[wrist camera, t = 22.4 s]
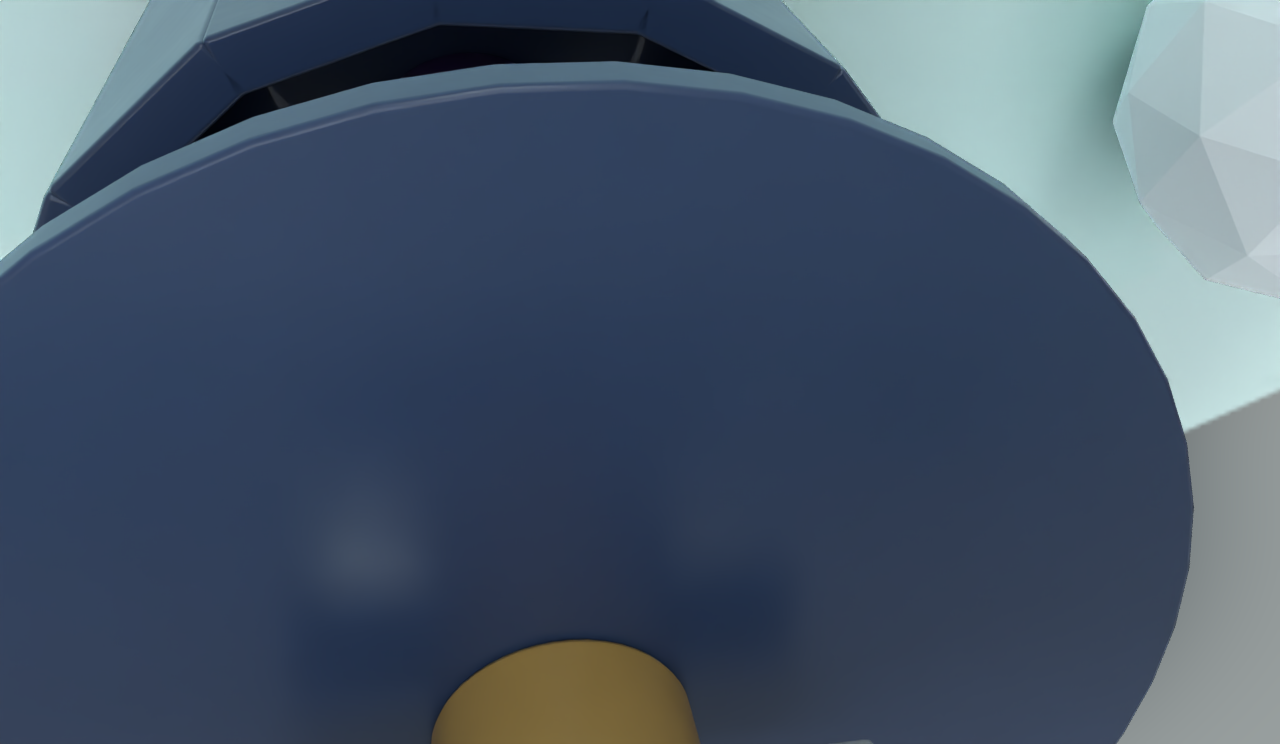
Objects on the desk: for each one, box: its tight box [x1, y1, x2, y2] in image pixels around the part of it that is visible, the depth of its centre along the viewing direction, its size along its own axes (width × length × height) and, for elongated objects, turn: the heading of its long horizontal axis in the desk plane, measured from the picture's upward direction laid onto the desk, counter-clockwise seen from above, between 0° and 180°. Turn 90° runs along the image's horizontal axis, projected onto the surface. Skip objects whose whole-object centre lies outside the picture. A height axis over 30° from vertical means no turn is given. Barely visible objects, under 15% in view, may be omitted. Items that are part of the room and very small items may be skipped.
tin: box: [33, 0, 881, 233], centre depth 20 cm, size 12×12×10 cm
